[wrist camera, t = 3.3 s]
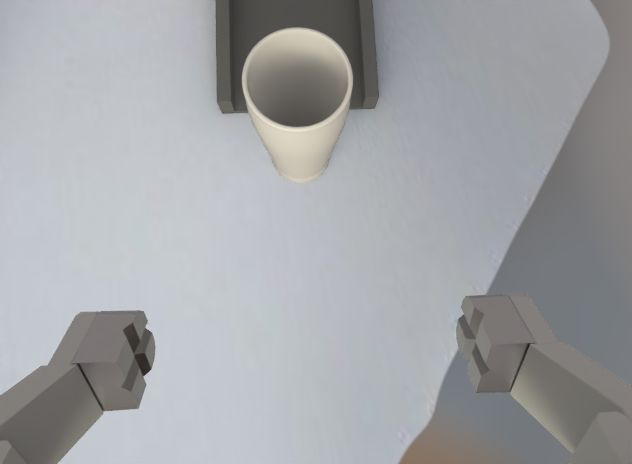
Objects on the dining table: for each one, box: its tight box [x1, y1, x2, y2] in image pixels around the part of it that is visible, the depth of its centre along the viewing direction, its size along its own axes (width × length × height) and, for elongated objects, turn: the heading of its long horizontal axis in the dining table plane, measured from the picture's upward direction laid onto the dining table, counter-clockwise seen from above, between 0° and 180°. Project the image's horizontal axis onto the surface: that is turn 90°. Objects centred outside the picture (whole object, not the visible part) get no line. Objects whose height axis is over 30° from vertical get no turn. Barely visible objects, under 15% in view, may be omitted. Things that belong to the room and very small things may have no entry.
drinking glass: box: [242, 27, 353, 183], centre depth 33 cm, size 7×7×15 cm
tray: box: [216, 0, 379, 113], centre depth 41 cm, size 17×14×2 cm
